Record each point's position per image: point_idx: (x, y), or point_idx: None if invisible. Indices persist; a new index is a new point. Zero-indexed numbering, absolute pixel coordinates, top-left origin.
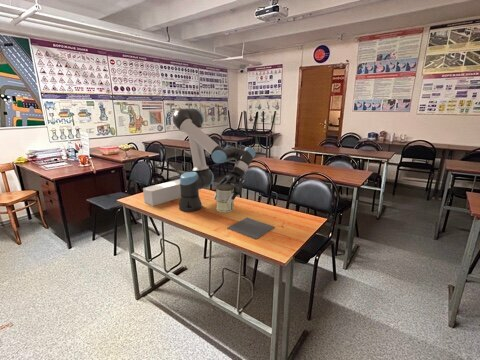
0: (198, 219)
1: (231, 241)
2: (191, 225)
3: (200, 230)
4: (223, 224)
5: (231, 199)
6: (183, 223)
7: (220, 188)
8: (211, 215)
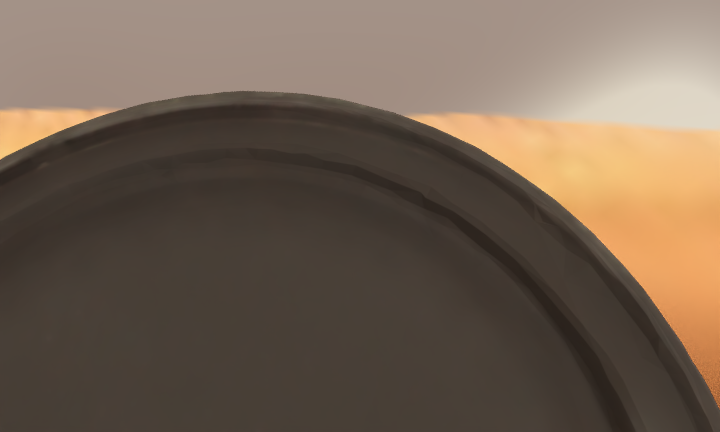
0: (668, 312)
1: (54, 123)
2: (593, 153)
3: (429, 124)
4: None
5: None
6: (702, 141)
7: (212, 122)
8: None
